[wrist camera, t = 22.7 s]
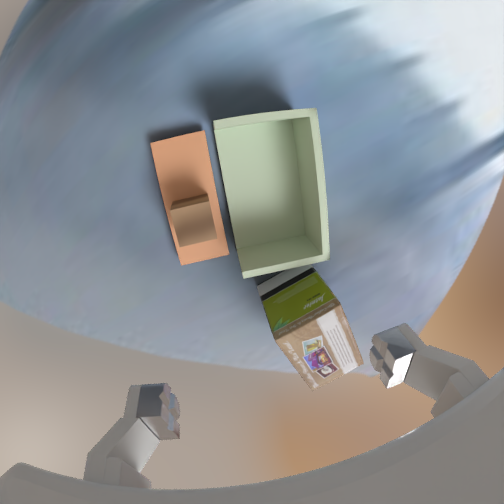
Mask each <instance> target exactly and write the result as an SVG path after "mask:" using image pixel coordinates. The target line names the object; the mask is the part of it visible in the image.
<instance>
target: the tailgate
mask: <svg viewBox="0 0 504 504" xmlns="http://www.w3.org/2000/svg"><path fill="white" fill-rule="evenodd" d="M150 144H151V149H152V153H153V158H154V163H155V167H156V172H157V176H158V180H159V184H160V189H161V193H162V197H163V201H164V205H165V209H166V213H167V216H168V220H169V224H170V228H171V231H172V235H173V239H174V242H175V246H176V249H177V253H178V256H179V259H180V263H181V265H186V264H190V263H194V262H198V261H203V260H207V259H211V258H216V257H220V256H224V255H229V251H228V246H227V241H226V237H225V232H224V227H223V222H222V217H221V213H220V208H219V203H218V198H217V193H216V188H215V183H214V178H213V172H212V167H211V162H210V157H209V152H208V146H207V141H206V136H205V130H204V131H199V132H194V133H190V134H185V135H181V136H177V137H172V138H168V139H164V140H161V141H157V142H153V143H150ZM207 193H208V197H209V202H210V206H211V211H212V216H213V220H214V225H215V230H216V234H217V239H214V240H209V241H205V242H201V243H196V244H192V245H188V246H183V247H179V243H178V240H177V236H176V232H175V229H174V225H173V221H172V217H171V213H170V208H171V205H172V202H173V201H177V200H181V199H185V198H189V197H194V196H198V195H202V194H207Z"/></svg>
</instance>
